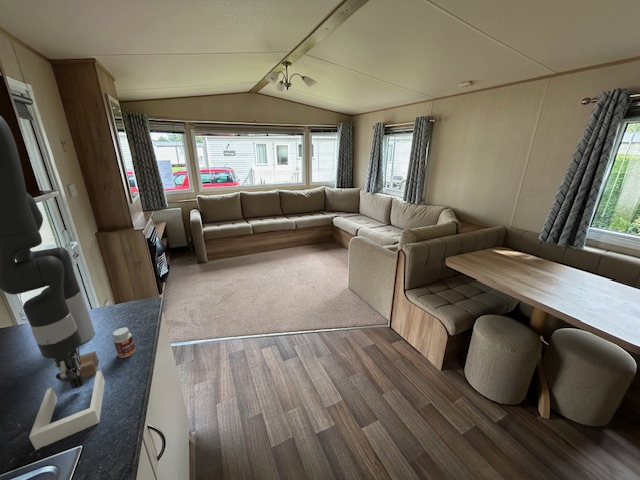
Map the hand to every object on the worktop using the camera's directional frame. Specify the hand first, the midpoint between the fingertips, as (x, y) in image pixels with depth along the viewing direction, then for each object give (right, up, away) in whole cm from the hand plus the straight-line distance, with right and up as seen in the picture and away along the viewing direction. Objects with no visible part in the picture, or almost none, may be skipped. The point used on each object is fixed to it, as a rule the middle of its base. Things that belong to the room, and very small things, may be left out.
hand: (78, 385), depth 72 cm
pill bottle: (+3, +3, +14) cm, 14 cm away
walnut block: (-4, 0, +7) cm, 8 cm away
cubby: (+4, -3, -5) cm, 7 cm away
